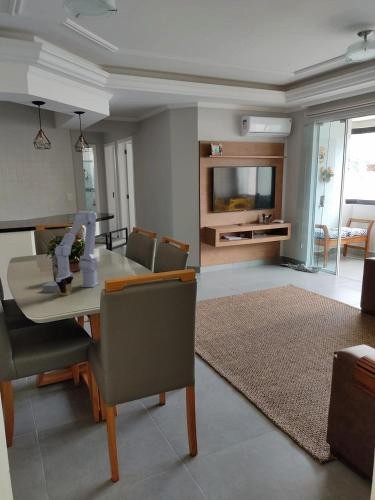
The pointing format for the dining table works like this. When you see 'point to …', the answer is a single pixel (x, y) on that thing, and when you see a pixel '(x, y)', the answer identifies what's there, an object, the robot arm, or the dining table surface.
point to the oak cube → (67, 291)
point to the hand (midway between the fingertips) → (65, 291)
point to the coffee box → (55, 267)
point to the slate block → (50, 287)
